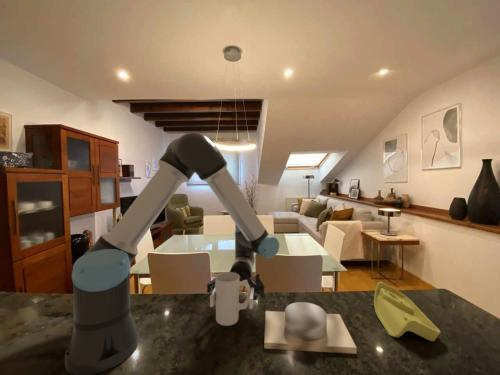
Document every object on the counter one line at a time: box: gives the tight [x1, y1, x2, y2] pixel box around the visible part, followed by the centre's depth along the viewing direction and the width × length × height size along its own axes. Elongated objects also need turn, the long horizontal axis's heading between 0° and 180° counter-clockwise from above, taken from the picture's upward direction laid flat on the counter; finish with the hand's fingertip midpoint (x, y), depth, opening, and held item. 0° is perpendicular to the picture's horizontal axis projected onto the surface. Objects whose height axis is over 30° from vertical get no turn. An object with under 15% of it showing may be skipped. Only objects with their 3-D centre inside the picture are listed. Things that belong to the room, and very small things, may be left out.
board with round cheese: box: [263, 301, 358, 355], centre depth 63 cm, size 22×14×6 cm, turn 85°
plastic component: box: [373, 281, 441, 342], centre depth 69 cm, size 20×7×10 cm
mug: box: [214, 271, 251, 327], centre depth 65 cm, size 10×7×12 cm, turn 95°
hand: (231, 302), depth 61 cm, fingers closed on mug, 10 cm apart
